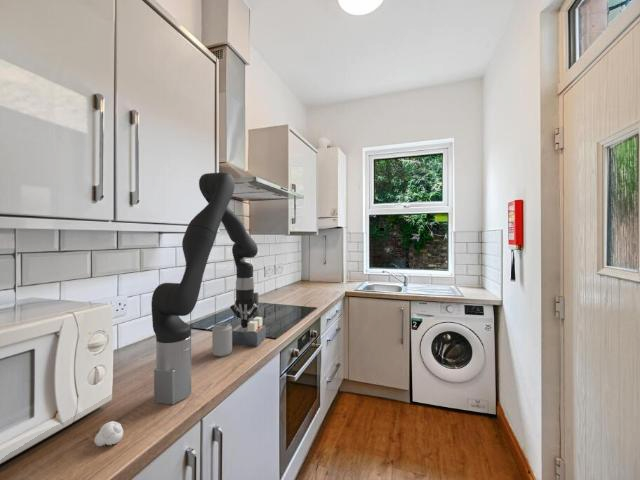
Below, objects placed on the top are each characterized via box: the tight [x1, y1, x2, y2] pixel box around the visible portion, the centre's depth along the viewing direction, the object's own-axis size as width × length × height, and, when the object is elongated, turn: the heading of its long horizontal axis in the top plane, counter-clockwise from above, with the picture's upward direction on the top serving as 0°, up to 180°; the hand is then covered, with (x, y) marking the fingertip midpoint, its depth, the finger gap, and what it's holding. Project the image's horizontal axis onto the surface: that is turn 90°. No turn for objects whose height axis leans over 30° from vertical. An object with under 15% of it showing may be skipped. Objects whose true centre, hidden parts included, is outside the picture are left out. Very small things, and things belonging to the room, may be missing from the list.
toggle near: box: [248, 320, 258, 332], centre depth 125 cm, size 4×3×4 cm
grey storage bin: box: [232, 323, 267, 348], centre depth 128 cm, size 10×12×6 cm
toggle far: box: [252, 316, 263, 327], centre depth 131 cm, size 4×3×4 cm
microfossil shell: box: [94, 421, 124, 447], centre depth 66 cm, size 4×5×6 cm
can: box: [211, 321, 233, 358], centre depth 115 cm, size 8×8×12 cm
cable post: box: [252, 292, 259, 320], centre depth 136 cm, size 4×4×20 cm
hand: (244, 327), depth 125 cm, fingers closed
